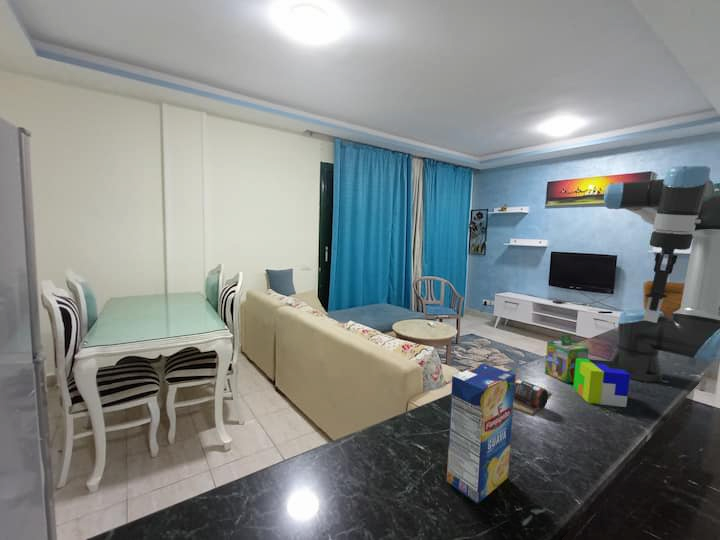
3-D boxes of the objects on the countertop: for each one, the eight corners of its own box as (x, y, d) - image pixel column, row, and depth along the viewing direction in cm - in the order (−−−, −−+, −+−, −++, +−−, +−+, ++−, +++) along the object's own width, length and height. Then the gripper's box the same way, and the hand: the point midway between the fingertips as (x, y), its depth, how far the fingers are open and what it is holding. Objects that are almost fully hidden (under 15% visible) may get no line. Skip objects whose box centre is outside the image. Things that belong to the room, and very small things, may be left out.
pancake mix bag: (687, 345, 151) (695, 285, 148) (636, 334, 167) (643, 279, 164) (692, 343, 154) (700, 284, 151) (642, 332, 171) (648, 278, 167)
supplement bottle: (546, 385, 91) (507, 370, 100) (537, 402, 89) (498, 386, 98) (550, 397, 94) (512, 382, 103) (542, 414, 92) (503, 397, 101)
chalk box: (566, 384, 110) (571, 341, 108) (543, 372, 118) (547, 332, 117) (586, 380, 113) (591, 338, 111) (562, 369, 121) (566, 330, 120)
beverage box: (446, 481, 66) (452, 376, 63) (477, 459, 72) (484, 363, 70) (477, 504, 60) (484, 390, 58) (507, 477, 67) (515, 374, 64)
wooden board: (510, 380, 111) (511, 379, 111) (550, 393, 103) (550, 391, 103) (488, 399, 98) (488, 397, 98) (531, 415, 90) (531, 413, 90)
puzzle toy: (626, 407, 96) (630, 374, 94) (587, 403, 98) (591, 370, 96) (607, 391, 105) (611, 361, 104) (573, 387, 107) (576, 358, 106)
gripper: (694, 236, 74) (667, 332, 80) (693, 231, 83) (670, 318, 89) (650, 232, 79) (628, 323, 85) (654, 228, 88) (634, 310, 94)
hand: (650, 320), depth 87 cm, fingers closed
